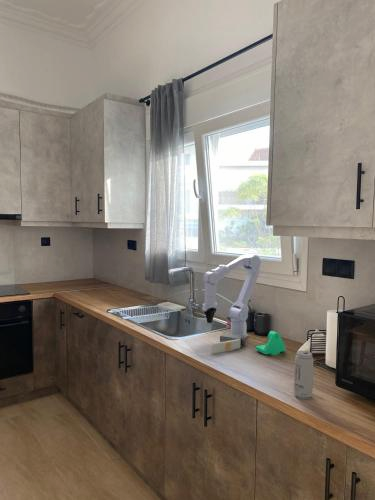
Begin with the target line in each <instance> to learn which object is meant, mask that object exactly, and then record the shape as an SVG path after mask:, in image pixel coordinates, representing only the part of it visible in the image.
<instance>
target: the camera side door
mask: <svg viewBox="0 0 375 500" xmlns="http://www.w3.org/2000/svg"><path fill="white" fill-rule="evenodd" d="M240 343H241V339H237V340H231V341H225V342H220V341H219V342H214V343H211V353H212V354H217V353H222V352H223V353H224V352H227V351H228V352H229V351H233V350H237V349H238V350H239V349H241V347H240Z"/></svg>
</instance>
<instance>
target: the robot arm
mask: <svg viewBox="0 0 375 500" xmlns="http://www.w3.org/2000/svg"><path fill="white" fill-rule="evenodd" d="M261 264H262V261H261V259H260V256H259V255H254V254H247V253H245V254H242V255H240V256H239V257H237V258H236V259H234V260H233V261H231V262H229V263H228V264H227V265H225V264H219V265H218V267H216V268H214V269H211V271H206V272H205V273H204V275H203V277H202V281H203V283H204V298H203V299H204V301H203V302H204V303H202V307H201V312H202V311H203V313H204V315H205V318H206V322H207V323H208V324H212V323H213V321H214V317H215V313H216V311H217V307H218V302H217V284H218V283H219V281H220V280H222V279H224V278H225V277H226V276H228V275H229V274H230V272H231V271H233V270H236V269H237V268H239V267H241V266H242V267H243V268H244V269H245V270H246V273H247V275H246V277H245V280H244V282H243V284H242V285H243V286H242V288H241V291H240V293H239V295H238V297H237V300H236V301H234V303H232V306H231V307H230V308H229V309H228V316H229V318H230V333H232V334H238V335H244V338H245V339H246V338H247V337H248V336H249V335H248V334H247V327H248V326H247V322H246V320H247V319H248V317H249V311H250V308H249V306H248V304H249V300H250V299H251V296H252V293H253V291H254V287H255V286H256V283H257V280H258V278H259V275H260V267H261Z"/></svg>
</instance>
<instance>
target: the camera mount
mask: <svg viewBox="0 0 375 500" xmlns="http://www.w3.org/2000/svg"><path fill="white" fill-rule="evenodd" d="M267 339H268V340H267V343H266V344H262V345H256V346H255V350H256V351H258V352H260V353H261V354H264V355H269V356H270V355H271V356H275V355H280V354H281V352H286V351H287V350H286V349H287V347H286V345H285V343H284V341H283V338H282V337H281V334H280V333H279V332H277V331H274V330H270V331H269V333H268V334H267Z"/></svg>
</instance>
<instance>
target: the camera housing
mask: <svg viewBox="0 0 375 500" xmlns="http://www.w3.org/2000/svg"><path fill="white" fill-rule="evenodd" d="M237 339H241V343H240V348H242V347H244V346H245V345H246V338H244V335H238V334H232V333H231V332H224V333H222V334H221V335H219V343H220V342H225V341H231V340H237Z"/></svg>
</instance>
